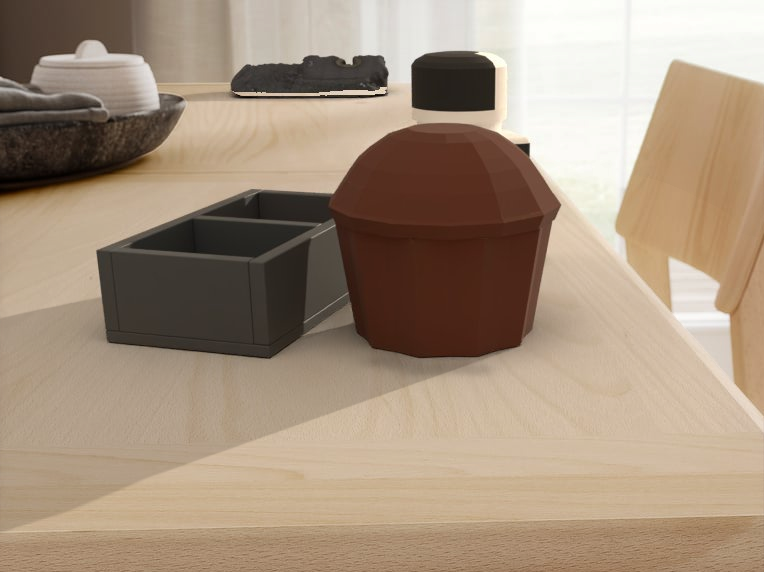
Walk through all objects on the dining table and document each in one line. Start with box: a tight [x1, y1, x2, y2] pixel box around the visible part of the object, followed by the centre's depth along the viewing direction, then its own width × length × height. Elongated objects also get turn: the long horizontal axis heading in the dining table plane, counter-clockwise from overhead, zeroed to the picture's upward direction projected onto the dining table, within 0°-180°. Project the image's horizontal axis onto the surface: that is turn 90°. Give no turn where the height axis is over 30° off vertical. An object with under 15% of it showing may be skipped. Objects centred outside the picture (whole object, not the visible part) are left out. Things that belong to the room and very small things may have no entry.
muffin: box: [328, 123, 562, 358], centre depth 57 cm, size 12×11×10 cm
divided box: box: [95, 188, 350, 359], centre depth 63 cm, size 9×17×5 cm, turn 163°
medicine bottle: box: [391, 50, 531, 159], centre depth 75 cm, size 7×7×12 cm
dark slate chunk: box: [230, 54, 390, 99], centre depth 164 cm, size 15×22×5 cm
